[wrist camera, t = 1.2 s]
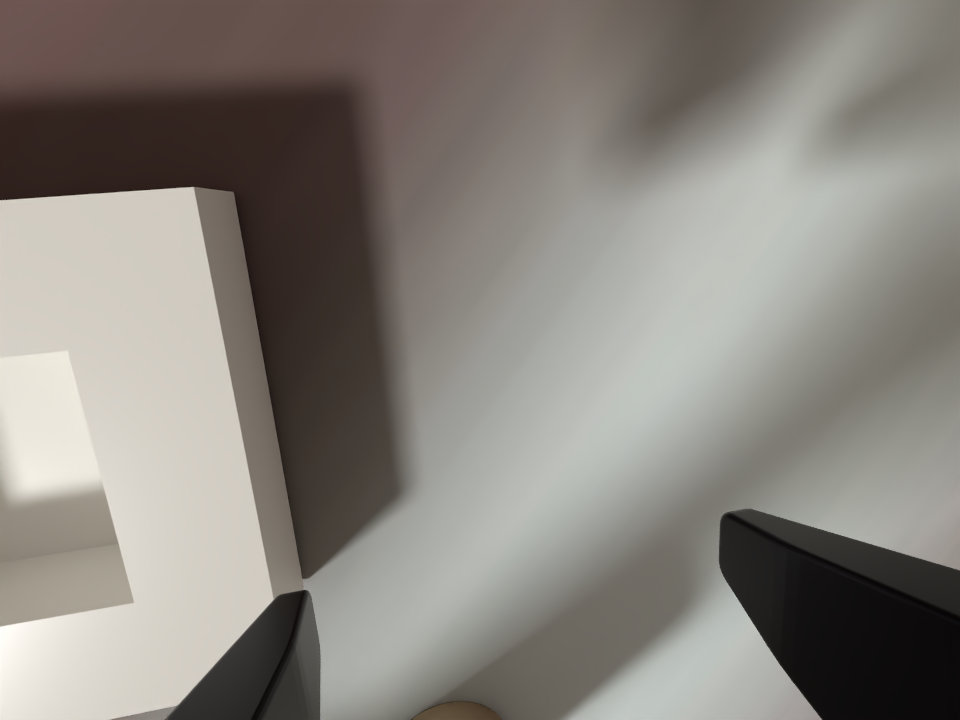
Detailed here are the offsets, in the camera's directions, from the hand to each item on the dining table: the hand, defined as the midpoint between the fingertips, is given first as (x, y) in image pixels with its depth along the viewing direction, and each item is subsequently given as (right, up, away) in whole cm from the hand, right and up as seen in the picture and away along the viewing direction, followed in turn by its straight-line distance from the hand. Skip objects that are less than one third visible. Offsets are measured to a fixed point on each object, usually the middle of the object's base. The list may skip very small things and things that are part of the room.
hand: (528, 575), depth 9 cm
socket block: (-13, +1, +8) cm, 15 cm away
